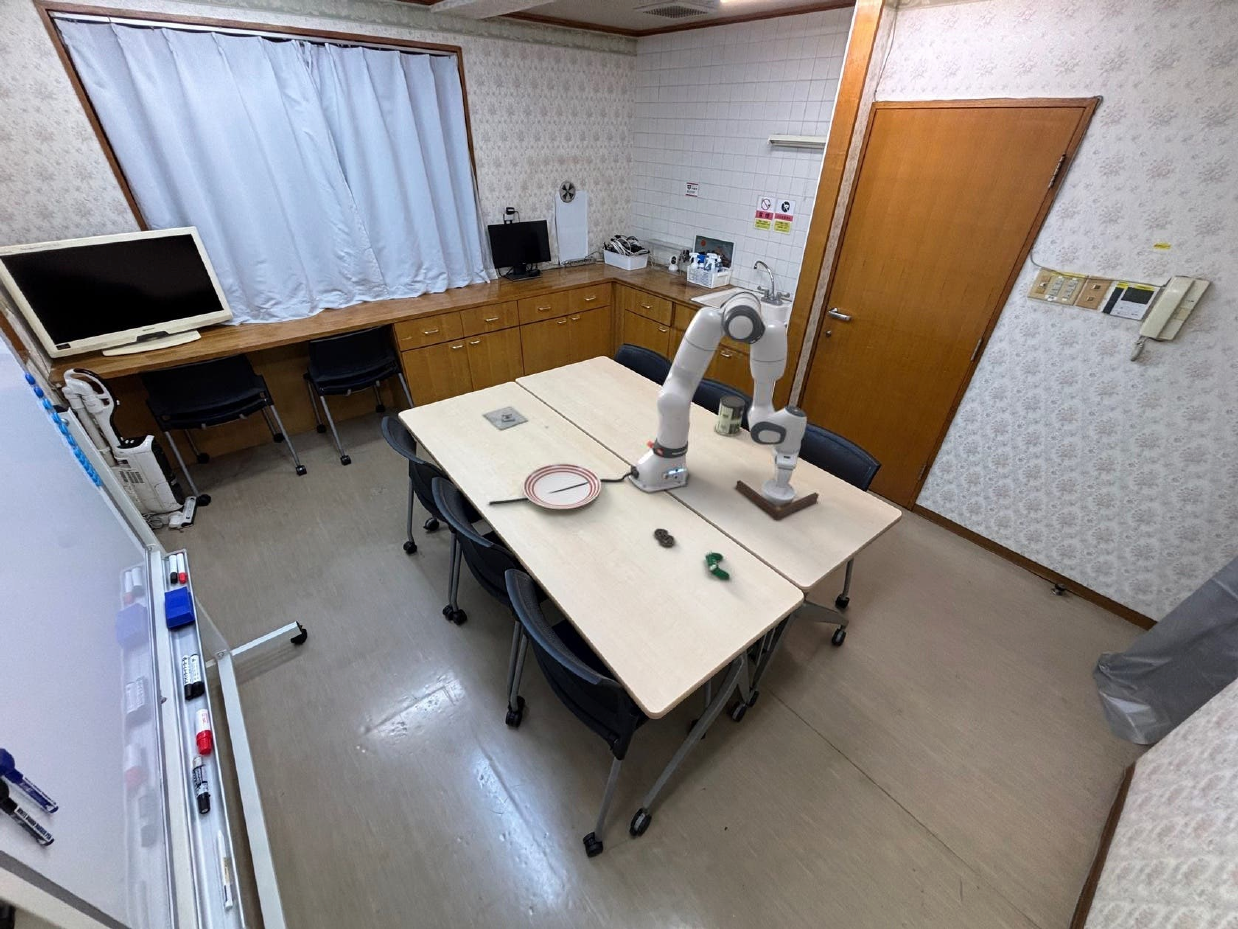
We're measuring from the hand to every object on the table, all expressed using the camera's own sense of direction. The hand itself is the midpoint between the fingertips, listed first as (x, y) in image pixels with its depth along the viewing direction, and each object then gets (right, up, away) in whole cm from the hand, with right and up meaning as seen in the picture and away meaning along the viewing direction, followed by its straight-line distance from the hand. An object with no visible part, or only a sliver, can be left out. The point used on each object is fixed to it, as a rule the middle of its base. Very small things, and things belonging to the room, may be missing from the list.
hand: (777, 483), depth 180 cm
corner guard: (-1, -4, -2) cm, 5 cm away
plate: (-77, -3, -4) cm, 78 cm away
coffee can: (-10, +22, +36) cm, 44 cm away
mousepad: (-103, +25, +36) cm, 112 cm away
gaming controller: (-29, -24, -32) cm, 50 cm away
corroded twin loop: (-43, -17, -23) cm, 52 cm away
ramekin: (-2, -6, -4) cm, 8 cm away
